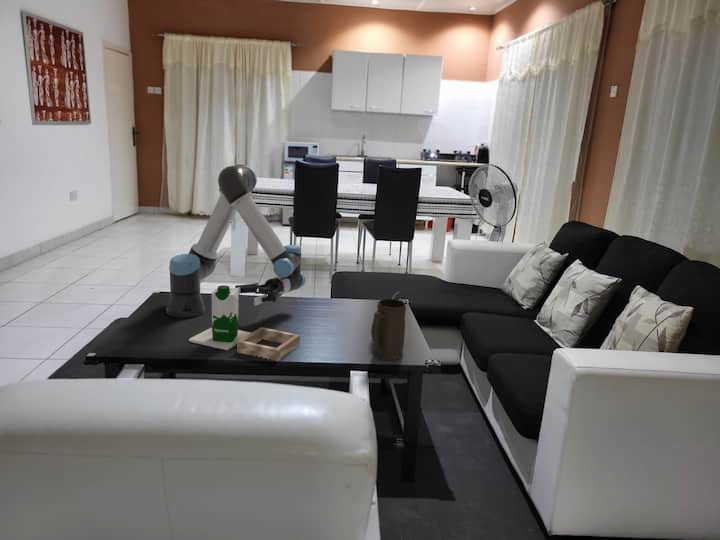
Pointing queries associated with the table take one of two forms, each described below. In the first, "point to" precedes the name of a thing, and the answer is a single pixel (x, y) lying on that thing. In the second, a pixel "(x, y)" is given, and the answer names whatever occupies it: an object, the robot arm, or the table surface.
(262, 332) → the wooden square tray
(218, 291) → the soya milk
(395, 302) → the beer stein
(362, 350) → the table surface
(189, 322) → the table surface
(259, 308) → the table surface
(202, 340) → the tile
